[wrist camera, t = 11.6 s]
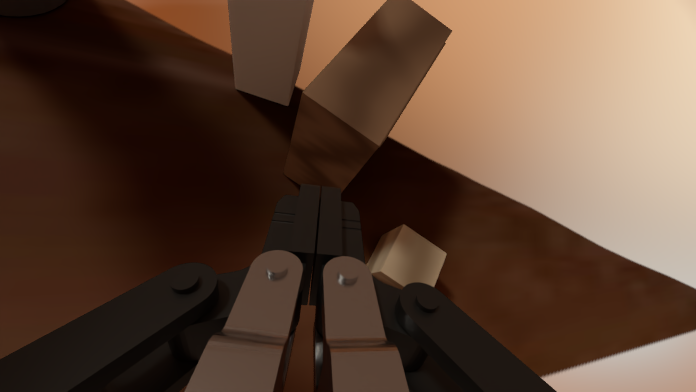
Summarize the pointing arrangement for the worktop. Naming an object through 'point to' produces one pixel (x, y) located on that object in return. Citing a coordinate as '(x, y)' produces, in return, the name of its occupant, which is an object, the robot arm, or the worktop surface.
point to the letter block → (405, 259)
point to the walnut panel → (362, 94)
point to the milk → (268, 45)
